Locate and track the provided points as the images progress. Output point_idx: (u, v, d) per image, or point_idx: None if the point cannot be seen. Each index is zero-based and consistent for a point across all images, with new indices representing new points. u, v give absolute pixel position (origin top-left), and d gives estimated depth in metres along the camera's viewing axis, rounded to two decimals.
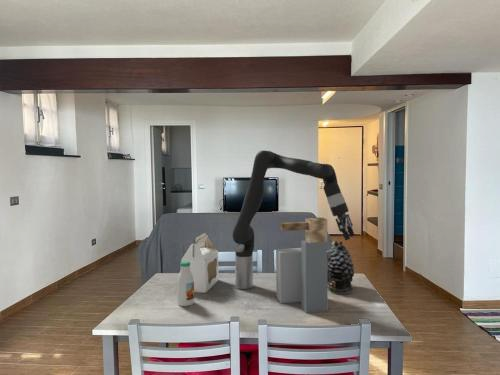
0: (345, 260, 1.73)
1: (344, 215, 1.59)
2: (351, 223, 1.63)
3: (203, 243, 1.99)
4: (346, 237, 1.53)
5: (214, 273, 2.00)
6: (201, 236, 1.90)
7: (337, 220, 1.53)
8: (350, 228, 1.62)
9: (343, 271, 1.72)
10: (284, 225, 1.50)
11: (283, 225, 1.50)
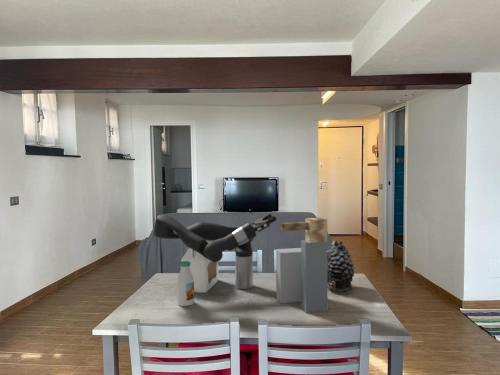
0: (345, 260, 1.73)
1: None
2: (267, 226, 1.57)
3: None
4: None
5: (214, 273, 2.00)
6: None
7: None
8: None
9: (343, 271, 1.72)
10: (284, 225, 1.50)
11: (283, 225, 1.50)
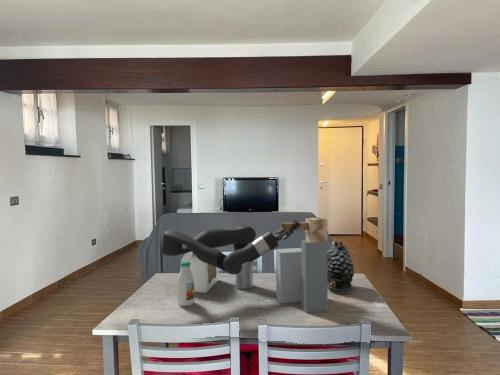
0: (345, 260, 1.73)
1: None
2: (290, 233, 1.48)
3: None
4: None
5: (214, 273, 2.00)
6: None
7: None
8: None
9: (343, 271, 1.72)
10: (284, 225, 1.50)
11: (283, 225, 1.50)
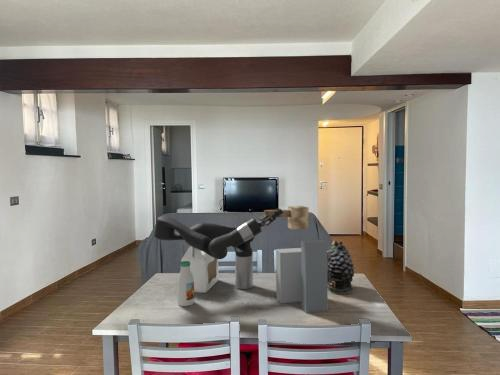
0: (345, 260, 1.73)
1: None
2: (273, 220, 1.56)
3: None
4: None
5: (214, 273, 2.00)
6: None
7: None
8: None
9: (343, 271, 1.72)
10: (267, 212, 1.58)
11: (266, 212, 1.58)
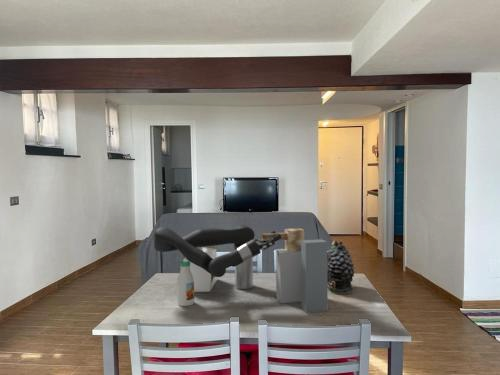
0: (345, 260, 1.73)
1: None
2: None
3: None
4: None
5: None
6: None
7: None
8: None
9: (343, 271, 1.72)
10: (264, 236, 1.63)
11: (264, 236, 1.63)
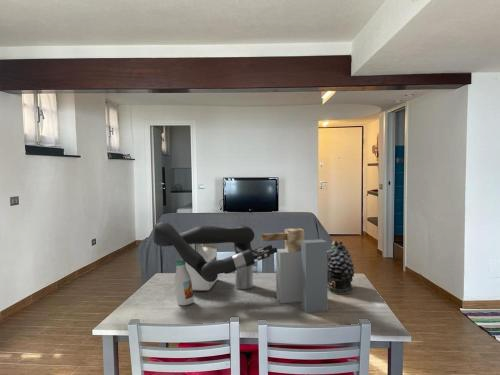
0: (345, 260, 1.73)
1: None
2: (267, 256, 1.59)
3: None
4: None
5: None
6: None
7: None
8: None
9: (343, 271, 1.72)
10: (264, 236, 1.63)
11: (264, 236, 1.63)
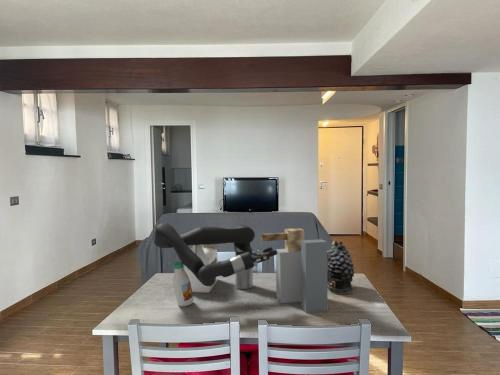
0: (345, 260, 1.73)
1: None
2: None
3: None
4: None
5: None
6: None
7: None
8: None
9: (343, 271, 1.72)
10: (264, 236, 1.63)
11: (264, 236, 1.63)
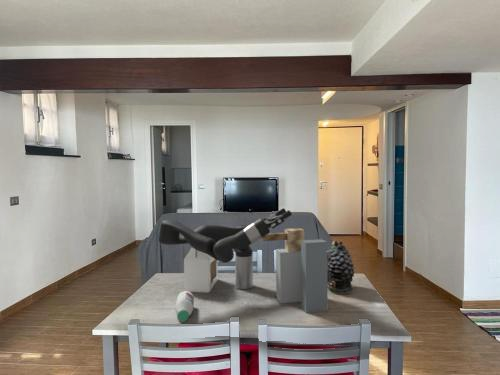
0: (345, 260, 1.73)
1: None
2: None
3: None
4: None
5: (213, 273, 2.01)
6: None
7: None
8: None
9: (343, 271, 1.72)
10: (264, 236, 1.63)
11: (264, 236, 1.63)
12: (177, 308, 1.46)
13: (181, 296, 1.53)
